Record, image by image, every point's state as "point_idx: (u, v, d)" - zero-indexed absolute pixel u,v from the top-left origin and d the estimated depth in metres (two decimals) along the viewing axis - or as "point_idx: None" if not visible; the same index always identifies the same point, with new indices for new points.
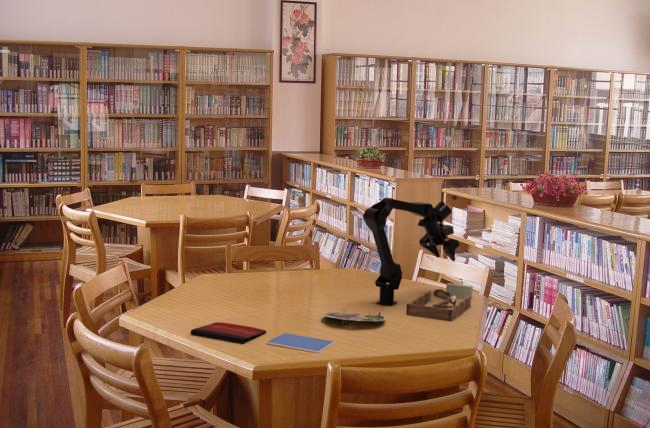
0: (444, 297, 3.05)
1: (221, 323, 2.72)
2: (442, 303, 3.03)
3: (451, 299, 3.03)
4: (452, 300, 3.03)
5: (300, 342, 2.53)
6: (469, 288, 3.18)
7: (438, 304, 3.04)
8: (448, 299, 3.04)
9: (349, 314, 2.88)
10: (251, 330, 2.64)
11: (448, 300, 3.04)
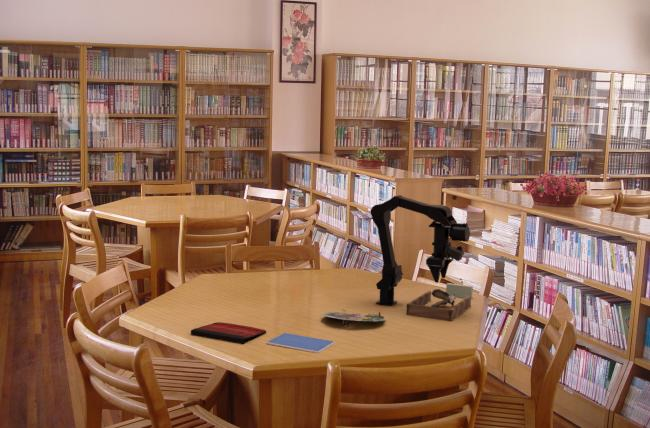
0: (442, 297, 3.05)
1: (221, 323, 2.72)
2: (440, 303, 3.03)
3: (449, 299, 3.03)
4: (450, 300, 3.03)
5: (300, 342, 2.53)
6: (469, 288, 3.18)
7: (436, 304, 3.04)
8: (446, 299, 3.04)
9: (349, 314, 2.89)
10: (251, 330, 2.64)
11: (446, 300, 3.04)
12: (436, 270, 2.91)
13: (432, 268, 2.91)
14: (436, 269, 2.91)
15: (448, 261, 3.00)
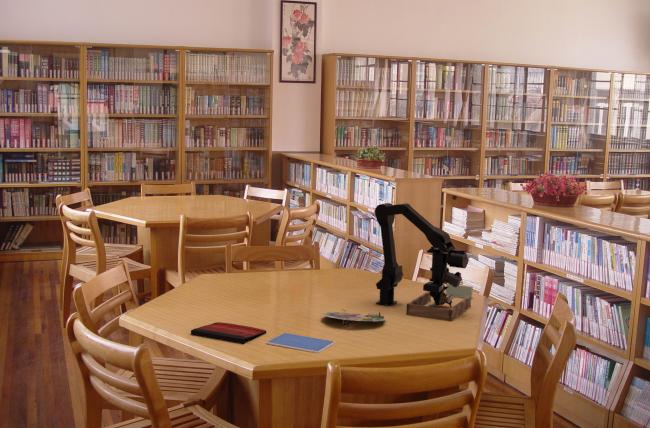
0: None
1: (221, 323, 2.72)
2: None
3: (447, 299, 3.03)
4: (448, 300, 3.03)
5: (300, 342, 2.53)
6: (469, 288, 3.18)
7: (434, 304, 3.03)
8: (444, 299, 3.04)
9: (349, 314, 2.89)
10: (251, 330, 2.64)
11: (444, 300, 3.03)
12: (437, 294, 2.96)
13: (433, 291, 2.96)
14: (437, 293, 2.96)
15: (443, 289, 2.96)
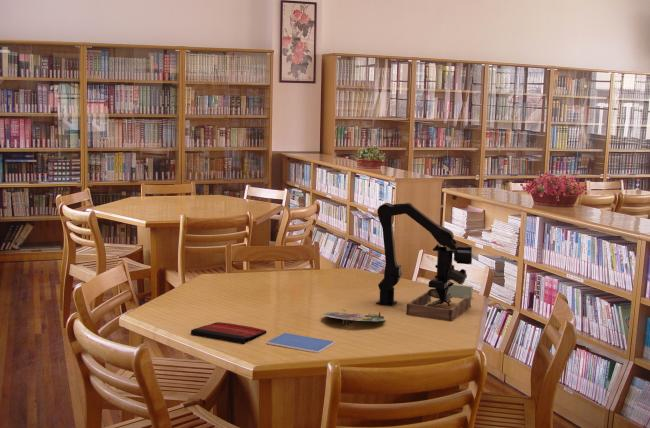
0: (438, 296, 3.06)
1: (221, 323, 2.72)
2: (437, 302, 3.04)
3: (446, 298, 3.04)
4: (447, 299, 3.04)
5: (300, 342, 2.53)
6: (469, 288, 3.18)
7: (433, 303, 3.04)
8: None
9: (349, 314, 2.89)
10: (251, 330, 2.64)
11: None
12: (442, 290, 3.01)
13: (438, 288, 3.01)
14: (442, 289, 3.01)
15: (448, 286, 3.02)
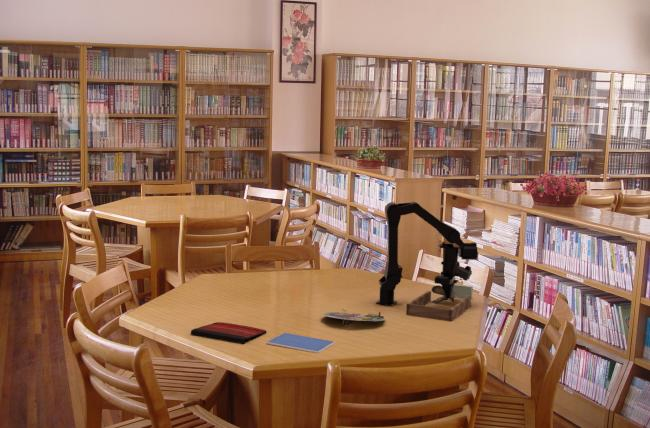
0: (443, 293, 3.12)
1: (221, 323, 2.72)
2: (442, 299, 3.10)
3: None
4: (451, 296, 3.10)
5: (300, 342, 2.53)
6: (469, 288, 3.18)
7: (438, 300, 3.10)
8: None
9: (349, 314, 2.89)
10: (251, 330, 2.64)
11: None
12: (448, 286, 3.08)
13: (444, 284, 3.08)
14: (448, 285, 3.08)
15: (453, 282, 3.08)
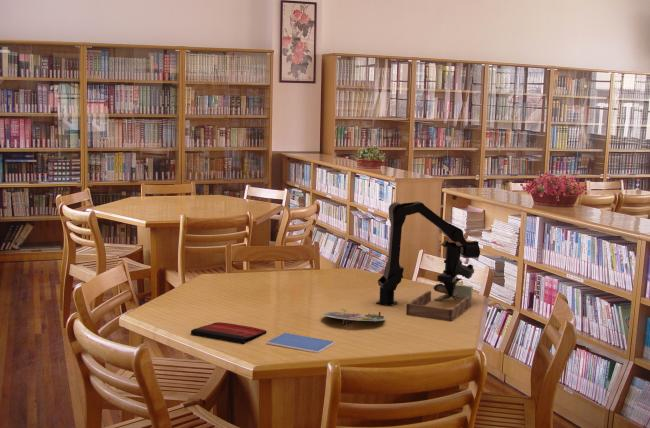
0: (445, 291, 3.15)
1: (221, 323, 2.72)
2: (444, 297, 3.13)
3: None
4: (453, 294, 3.13)
5: (300, 342, 2.53)
6: (469, 288, 3.18)
7: (440, 298, 3.13)
8: None
9: (349, 314, 2.89)
10: (251, 330, 2.64)
11: None
12: (450, 285, 3.11)
13: (446, 283, 3.11)
14: (450, 284, 3.11)
15: (455, 280, 3.11)
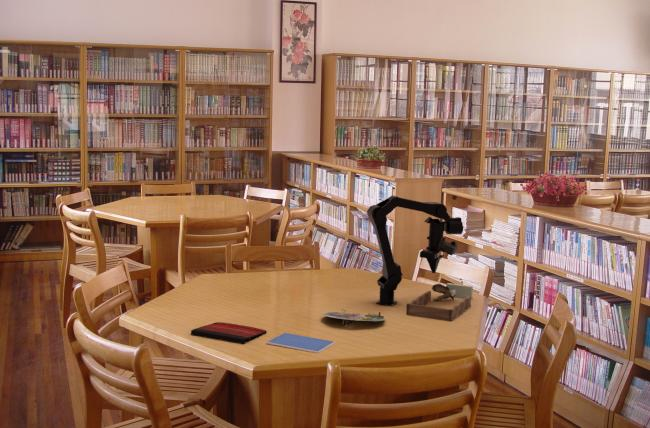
0: (443, 291, 3.15)
1: (221, 323, 2.72)
2: (442, 297, 3.13)
3: (451, 293, 3.13)
4: (452, 294, 3.13)
5: (300, 342, 2.53)
6: (469, 288, 3.18)
7: (438, 298, 3.13)
8: (448, 293, 3.14)
9: (349, 314, 2.89)
10: (251, 330, 2.64)
11: (448, 294, 3.14)
12: (433, 261, 3.10)
13: (429, 259, 3.10)
14: (433, 260, 3.10)
15: (439, 257, 3.11)
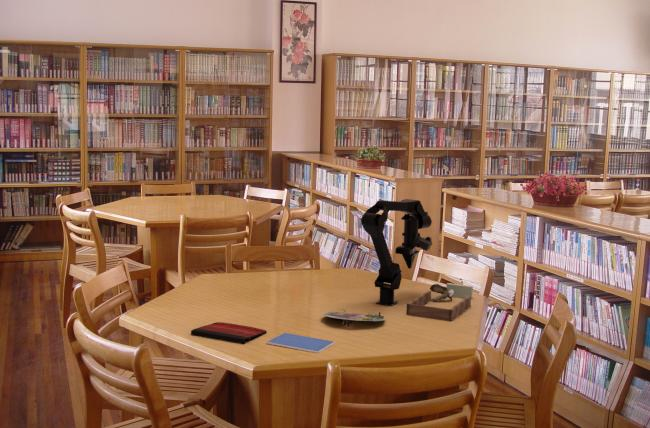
0: (441, 292, 3.15)
1: (221, 323, 2.72)
2: (440, 297, 3.12)
3: (449, 293, 3.13)
4: (450, 294, 3.13)
5: (300, 342, 2.53)
6: (469, 288, 3.18)
7: (436, 299, 3.13)
8: (446, 293, 3.13)
9: (349, 314, 2.89)
10: (251, 330, 2.64)
11: (446, 294, 3.13)
12: (409, 257, 3.16)
13: (405, 255, 3.16)
14: (409, 256, 3.16)
15: (414, 252, 3.17)
